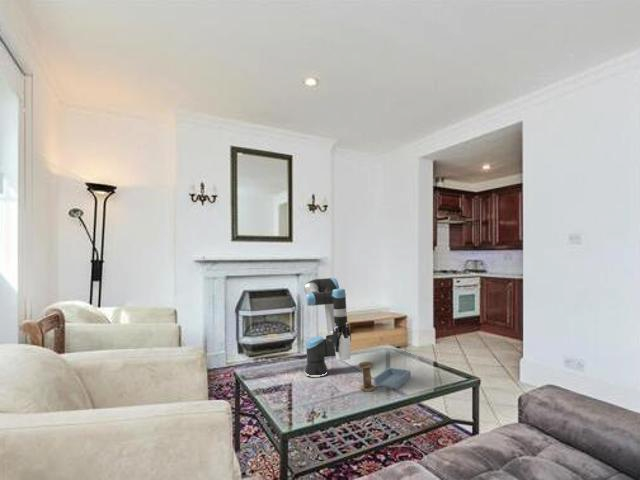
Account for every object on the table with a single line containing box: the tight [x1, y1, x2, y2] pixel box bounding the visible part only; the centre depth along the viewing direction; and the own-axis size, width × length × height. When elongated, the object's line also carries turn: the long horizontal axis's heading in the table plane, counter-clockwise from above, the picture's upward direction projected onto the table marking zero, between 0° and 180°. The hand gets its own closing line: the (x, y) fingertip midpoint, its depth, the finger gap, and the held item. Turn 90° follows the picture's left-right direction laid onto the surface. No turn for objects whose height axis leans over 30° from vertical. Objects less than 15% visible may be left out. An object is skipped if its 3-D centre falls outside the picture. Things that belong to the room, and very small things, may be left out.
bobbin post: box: [358, 361, 376, 392], centre depth 198 cm, size 8×8×14 cm
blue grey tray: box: [373, 367, 412, 390], centre depth 207 cm, size 14×20×4 cm
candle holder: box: [335, 335, 352, 361], centre depth 198 cm, size 10×10×12 cm
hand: (343, 355), depth 198 cm, fingers closed on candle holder, 9 cm apart
